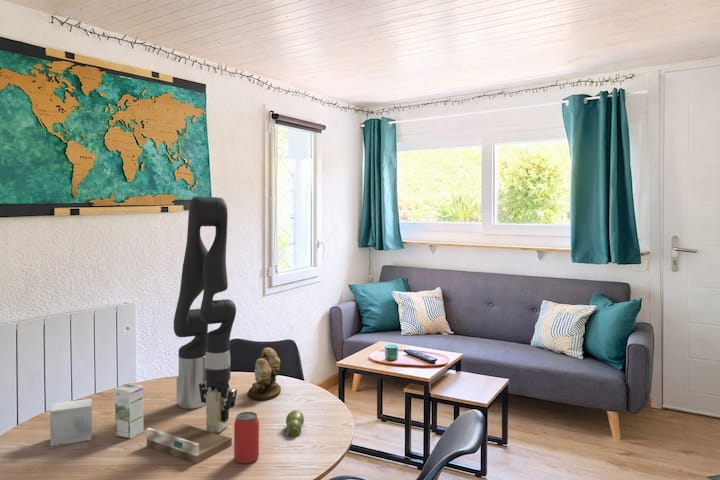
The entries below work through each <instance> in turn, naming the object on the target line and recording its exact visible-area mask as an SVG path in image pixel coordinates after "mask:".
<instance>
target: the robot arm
mask: <svg viewBox="0 0 720 480" xmlns="http://www.w3.org/2000/svg"><path fill="white" fill-rule="evenodd" d="M188 206H189V207H188V215H187V216H188V217H187V218H188V219H187V232H186V233H187V234H186V235H187V236H186V244H185V252H184V256H183V257H184V258H183V263H182V269H181V278H180V279H181V280H180V286H179V287H180V288H179V296H178V298H177V303H176V309H175V313H174V316H173V332H174V335H175V336H176V337H177V338H188V337H189V338H190V337H193V339H191V340H190V341H189V342H187V343H186V344H184V345H181V346H180V347H179V348H178V376H177V377H176V405H178V407H179V408H180V409H185V410H187V409H189V410H191V409H192V410H193V409H200V408H201V407H204V406H205V407H206V415H207V392H208V391H212V390H215V392H217V393H219V392H221V397H222V398H223V397H225V398H224V399H223V400H222V398H221V397H220V403H221V409H222V410H221V422H225V421H227V420H228V421H229V415H230V414H229V413H230V411H229V410H231V409H233V408H235V404H236V400H237V398H236V397H237V394H238V390H237V389H236V388H234V389H233V388H231V387H230V384H229V382H230V380H231V352H230V351H231V349H230V347H231V343H230V341H231V333H232V329H233V326H234V322H235V318H236V315H237V307H236V304H235V302H234V301H233V300H231V299H214V297H215V295H216V294H219V293H222V292H223V293H224V292H226V291H227V290H228V283H229V282H228V273H227V262H226V261H227V259H226V257H227V241H228V240H227V239H228V238H227V237H228V221H229V220H228V218H229V217H228V216H229V215H228V206H227V202H226V200H225V199H224V198H222V197H219V196H218V197H216V196H215V197H214V196H212V197H211V196H193V197H192V198H191V200H190V203H189V205H188ZM201 227H215V235H214V240H213V242H212V245H211V246H210V248H209V250H208V249H207V247H206V246H205V244H204V242H203V240H202V237H201ZM202 292H203V293H202ZM201 293H202V298H201V299H202V300H201V304H200V308H192V309H191V306H192V305H193V303H194V301H195V300H196V299H197V298H198V297H199V296H200V294H201ZM216 324H220V325H219V327H217V328H216V329H213V330H210V331H209V325H216ZM224 402H225V405H224Z"/></svg>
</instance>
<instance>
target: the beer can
mask: <svg viewBox="0 0 720 480" xmlns="http://www.w3.org/2000/svg"><path fill="white" fill-rule="evenodd" d="M233 425H234V426H233V427H234V428H233V429H234V430H233V431H234V434H233V435H234V436H233V437H234V438H233V441H234V443H233V447H234V448H233V453H234V454H233V456H234V457H233V459H234V461H235V462H236V463H239V464H244V465H245V464H251V463H253V462H255V461H257V460H258V458H259V457H260V456H259V455H260V440H259V439H260V421H259V418H258V414H257V413H256V412H254V411H244V412H239V413H238V414H236V416H235V420H234V424H233Z"/></svg>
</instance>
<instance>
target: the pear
mask: <svg viewBox="0 0 720 480" xmlns="http://www.w3.org/2000/svg"><path fill="white" fill-rule="evenodd" d="M285 423H286V430H285V434H286V435H287V437H288V436H289V437H299V436H300V435H301V434H302V427H303V426H304V423H305V416H304V414H303V413H302V412H301V411H300V410H297V409H295V410H294V409H293V410H291V411H290V412H288V414H287V415H286V419H285Z"/></svg>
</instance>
